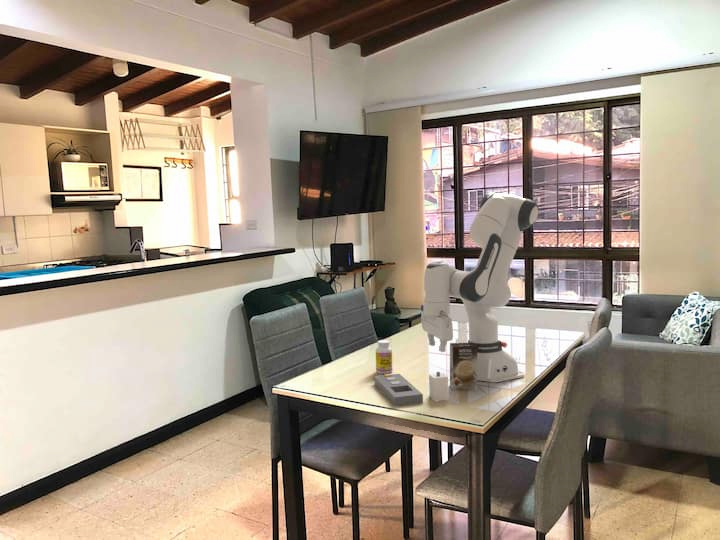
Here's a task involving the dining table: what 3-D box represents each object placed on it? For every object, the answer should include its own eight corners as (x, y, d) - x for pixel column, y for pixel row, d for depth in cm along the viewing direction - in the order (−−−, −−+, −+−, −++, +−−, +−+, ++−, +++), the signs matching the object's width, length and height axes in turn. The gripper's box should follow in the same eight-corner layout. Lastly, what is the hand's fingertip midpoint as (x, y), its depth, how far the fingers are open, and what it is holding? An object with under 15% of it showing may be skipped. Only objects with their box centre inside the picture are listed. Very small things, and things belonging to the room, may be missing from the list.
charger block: (442, 394, 203) (442, 369, 202) (448, 399, 198) (447, 373, 197) (429, 396, 202) (428, 371, 201) (434, 400, 197) (434, 374, 196)
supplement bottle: (378, 375, 229) (377, 343, 228) (374, 370, 236) (373, 340, 234) (394, 373, 231) (393, 342, 230) (389, 369, 238) (388, 338, 236)
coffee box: (452, 390, 207) (452, 347, 206) (449, 385, 214) (448, 343, 212) (478, 389, 208) (477, 346, 206) (473, 384, 214) (473, 342, 212)
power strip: (399, 381, 220) (399, 372, 220) (422, 402, 195) (422, 392, 195) (374, 383, 218) (374, 374, 218) (394, 405, 193) (394, 395, 193)
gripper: (457, 313, 187) (457, 354, 189) (434, 304, 207) (434, 341, 208) (439, 314, 186) (439, 356, 187) (418, 305, 205) (418, 342, 207)
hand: (437, 348), depth 198 cm, fingers open, 8 cm apart
